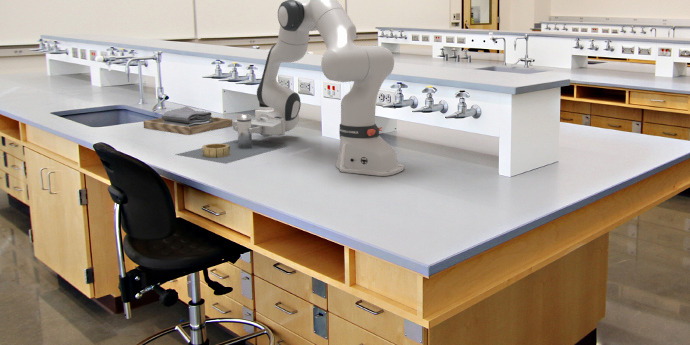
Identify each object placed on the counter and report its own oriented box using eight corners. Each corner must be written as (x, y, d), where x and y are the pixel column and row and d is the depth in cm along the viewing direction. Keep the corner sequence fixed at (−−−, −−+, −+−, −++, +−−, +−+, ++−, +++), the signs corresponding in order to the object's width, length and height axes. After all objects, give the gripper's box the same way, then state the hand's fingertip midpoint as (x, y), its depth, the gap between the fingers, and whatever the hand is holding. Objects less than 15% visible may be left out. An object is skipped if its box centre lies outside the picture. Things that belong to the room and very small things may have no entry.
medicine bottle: (277, 125, 277) (277, 98, 274) (267, 127, 271) (266, 100, 268) (265, 123, 281) (264, 97, 278) (255, 126, 275) (254, 99, 272)
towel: (160, 129, 268) (159, 111, 266) (187, 122, 284) (186, 105, 282) (189, 131, 262) (188, 113, 260) (214, 125, 279) (213, 107, 277)
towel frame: (232, 125, 274) (232, 119, 274) (189, 134, 254) (189, 127, 253) (187, 119, 289) (187, 113, 289) (143, 127, 269) (143, 121, 268)
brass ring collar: (235, 153, 217) (234, 145, 217) (216, 158, 210) (216, 150, 209) (216, 150, 222) (215, 142, 222) (197, 155, 215) (196, 146, 214)
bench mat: (289, 147, 231) (289, 145, 231) (225, 165, 203) (225, 163, 203) (241, 140, 244) (241, 138, 244) (175, 156, 216) (175, 154, 216)
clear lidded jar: (255, 146, 229) (253, 114, 226) (245, 149, 225) (244, 116, 222) (244, 145, 232) (243, 113, 229) (235, 147, 228) (234, 115, 225)
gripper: (246, 114, 242) (221, 118, 231) (287, 118, 231) (263, 124, 220) (247, 129, 243) (222, 135, 232) (288, 135, 233) (264, 141, 221)
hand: (243, 129), depth 226 cm, fingers closed on clear lidded jar, 5 cm apart
